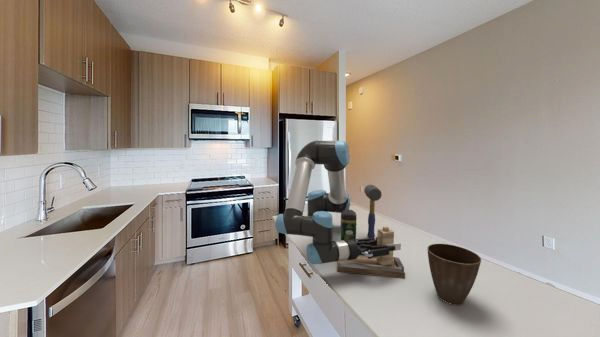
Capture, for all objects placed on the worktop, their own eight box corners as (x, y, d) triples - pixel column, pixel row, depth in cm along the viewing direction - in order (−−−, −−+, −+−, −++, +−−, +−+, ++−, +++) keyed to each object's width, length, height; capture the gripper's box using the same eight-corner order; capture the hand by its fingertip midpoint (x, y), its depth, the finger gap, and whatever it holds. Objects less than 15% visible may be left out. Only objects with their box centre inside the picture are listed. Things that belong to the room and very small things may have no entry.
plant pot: (420, 281, 87) (422, 241, 85) (466, 288, 82) (469, 246, 81) (431, 307, 72) (434, 260, 71) (486, 318, 68) (491, 267, 67)
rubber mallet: (380, 243, 120) (383, 187, 118) (366, 242, 121) (368, 187, 118) (375, 234, 133) (376, 183, 130) (362, 234, 133) (363, 183, 131)
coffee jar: (340, 241, 123) (340, 208, 121) (355, 242, 122) (356, 208, 120) (340, 249, 113) (341, 213, 112) (356, 250, 112) (357, 214, 110)
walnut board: (337, 256, 106) (338, 249, 106) (396, 261, 102) (397, 254, 101) (337, 271, 93) (337, 263, 93) (404, 278, 89) (405, 269, 89)
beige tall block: (376, 261, 96) (377, 226, 95) (386, 259, 98) (388, 225, 96) (382, 266, 92) (383, 229, 91) (392, 264, 94) (394, 228, 92)
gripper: (336, 249, 98) (383, 244, 104) (355, 270, 82) (410, 262, 88) (336, 232, 98) (384, 228, 103) (356, 250, 81) (411, 243, 87)
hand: (396, 243), depth 96 cm, fingers closed on beige tall block, 4 cm apart
